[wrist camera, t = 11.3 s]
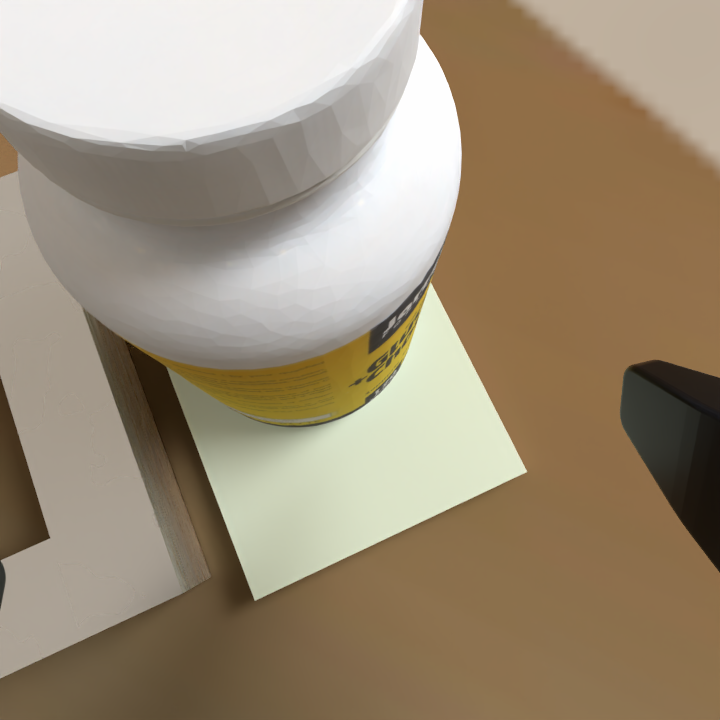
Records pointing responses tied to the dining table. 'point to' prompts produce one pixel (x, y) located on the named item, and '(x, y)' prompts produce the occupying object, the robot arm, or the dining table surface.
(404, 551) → the dining table surface
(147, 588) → the collar
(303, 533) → the mat
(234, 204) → the pill bottle
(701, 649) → the dining table surface
